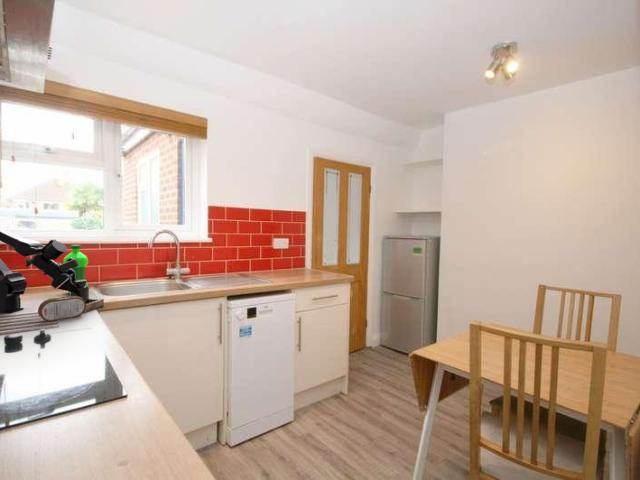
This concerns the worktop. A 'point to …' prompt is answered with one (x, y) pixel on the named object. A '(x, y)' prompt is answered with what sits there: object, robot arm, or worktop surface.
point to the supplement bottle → (81, 290)
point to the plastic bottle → (81, 260)
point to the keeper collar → (94, 304)
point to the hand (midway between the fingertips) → (81, 290)
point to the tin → (61, 308)
